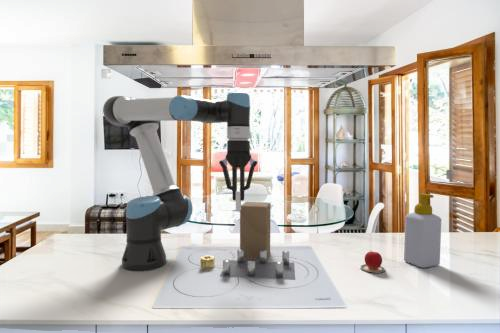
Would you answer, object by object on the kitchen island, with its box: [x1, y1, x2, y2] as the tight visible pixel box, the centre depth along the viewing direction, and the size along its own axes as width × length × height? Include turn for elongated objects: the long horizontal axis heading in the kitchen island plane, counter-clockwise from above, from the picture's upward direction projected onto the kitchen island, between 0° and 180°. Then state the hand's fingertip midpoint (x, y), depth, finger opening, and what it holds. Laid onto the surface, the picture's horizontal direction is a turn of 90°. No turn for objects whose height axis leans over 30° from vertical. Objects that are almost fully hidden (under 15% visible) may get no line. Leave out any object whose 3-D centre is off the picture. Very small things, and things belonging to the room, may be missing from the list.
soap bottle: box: [403, 192, 442, 269], centre depth 127 cm, size 9×9×25 cm
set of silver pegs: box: [222, 248, 290, 278], centre depth 120 cm, size 21×14×4 cm
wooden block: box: [239, 201, 271, 261], centre depth 135 cm, size 10×10×20 cm
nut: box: [200, 255, 216, 270], centre depth 123 cm, size 5×4×4 cm
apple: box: [360, 250, 386, 274], centre depth 121 cm, size 8×8×6 cm
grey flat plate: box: [219, 259, 296, 281], centre depth 120 cm, size 24×16×1 cm, turn 84°
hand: (238, 210), depth 119 cm, fingers closed
